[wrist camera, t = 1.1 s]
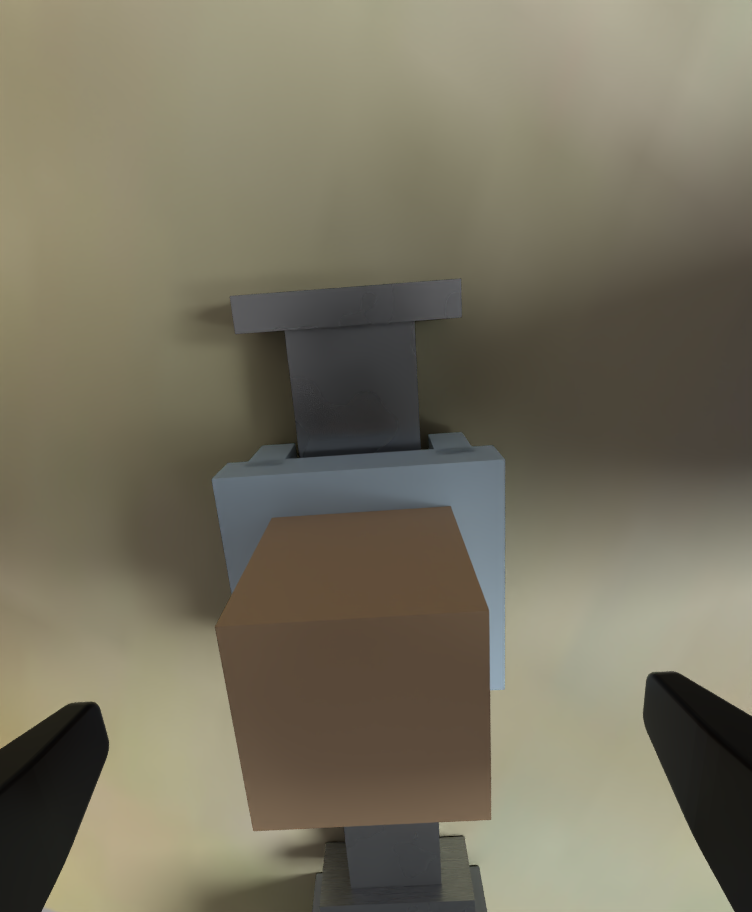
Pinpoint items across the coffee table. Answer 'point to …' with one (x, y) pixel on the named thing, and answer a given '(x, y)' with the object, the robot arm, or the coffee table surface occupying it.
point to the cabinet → (476, 883)
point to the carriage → (364, 631)
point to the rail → (361, 432)
